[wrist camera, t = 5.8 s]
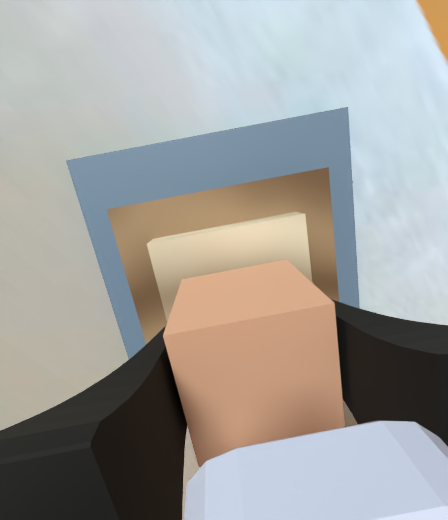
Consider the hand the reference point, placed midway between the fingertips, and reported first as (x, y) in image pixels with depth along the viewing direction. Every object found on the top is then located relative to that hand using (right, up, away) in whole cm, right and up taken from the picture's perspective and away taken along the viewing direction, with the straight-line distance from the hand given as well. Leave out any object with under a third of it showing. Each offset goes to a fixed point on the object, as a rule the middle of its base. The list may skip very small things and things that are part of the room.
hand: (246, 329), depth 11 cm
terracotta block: (0, 0, +2) cm, 2 cm away
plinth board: (0, +2, +7) cm, 7 cm away
